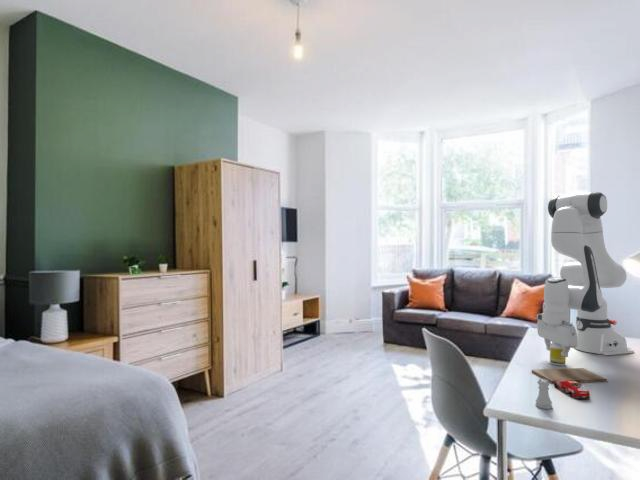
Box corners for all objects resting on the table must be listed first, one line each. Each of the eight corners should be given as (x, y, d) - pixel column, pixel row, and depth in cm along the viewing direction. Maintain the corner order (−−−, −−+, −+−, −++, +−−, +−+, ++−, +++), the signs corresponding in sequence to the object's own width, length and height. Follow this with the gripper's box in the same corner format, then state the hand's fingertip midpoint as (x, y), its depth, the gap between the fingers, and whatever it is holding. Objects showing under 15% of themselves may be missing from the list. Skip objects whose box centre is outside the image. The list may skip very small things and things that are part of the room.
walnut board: (583, 370, 152) (583, 368, 152) (607, 381, 141) (607, 378, 141) (531, 372, 151) (531, 369, 151) (551, 383, 139) (551, 380, 139)
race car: (551, 386, 138) (550, 374, 138) (567, 385, 138) (566, 374, 138) (574, 401, 125) (574, 388, 125) (592, 401, 125) (592, 388, 125)
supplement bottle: (567, 366, 158) (567, 341, 158) (552, 365, 159) (552, 340, 159) (562, 362, 163) (562, 337, 163) (547, 361, 164) (547, 337, 164)
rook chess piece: (532, 403, 123) (531, 377, 123) (546, 403, 123) (545, 376, 123) (541, 410, 118) (541, 382, 118) (555, 409, 119) (555, 382, 119)
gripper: (582, 323, 151) (582, 360, 151) (548, 314, 171) (548, 346, 171) (566, 324, 151) (566, 361, 151) (534, 314, 171) (534, 347, 171)
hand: (556, 353), depth 161 cm, fingers open, 8 cm apart
